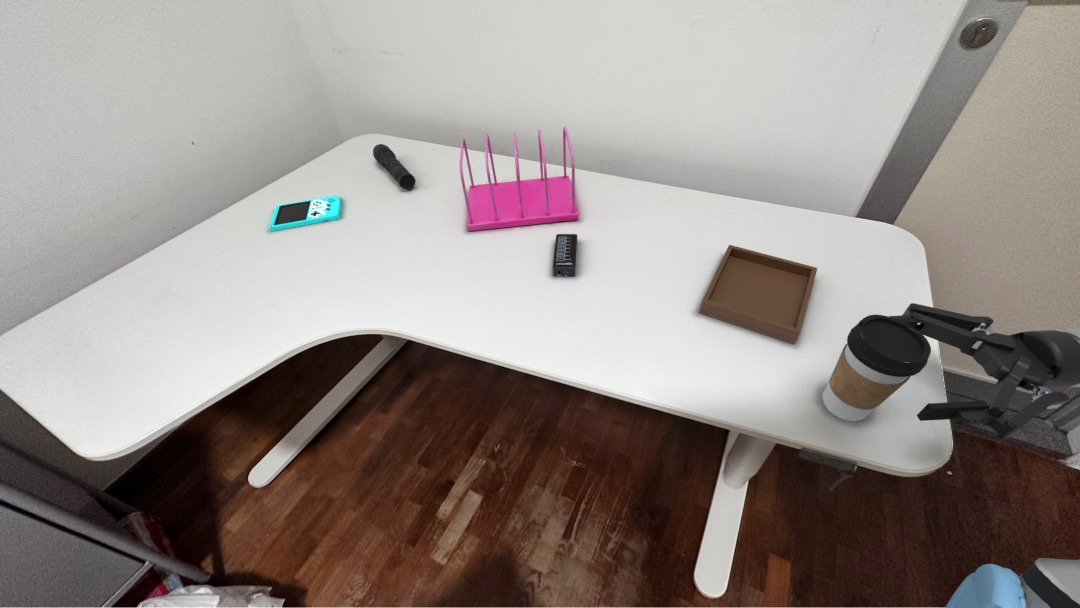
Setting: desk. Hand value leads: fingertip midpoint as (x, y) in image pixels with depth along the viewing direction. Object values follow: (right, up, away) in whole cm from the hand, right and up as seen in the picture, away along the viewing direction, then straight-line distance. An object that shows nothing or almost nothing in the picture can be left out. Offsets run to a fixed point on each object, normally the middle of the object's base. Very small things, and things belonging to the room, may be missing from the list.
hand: (892, 367), depth 60 cm
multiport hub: (-41, +17, +33) cm, 56 cm away
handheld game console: (-104, +30, +52) cm, 120 cm away
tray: (-7, +10, +22) cm, 25 cm away
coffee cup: (-2, -6, +6) cm, 9 cm away
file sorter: (-51, +32, +48) cm, 77 cm away
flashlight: (-85, +43, +63) cm, 115 cm away
